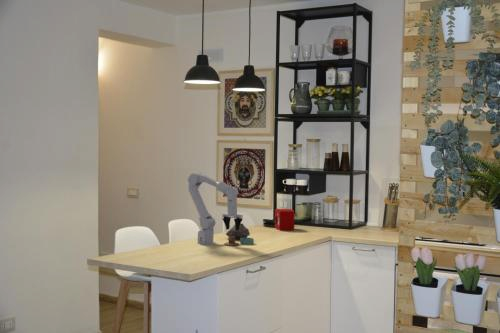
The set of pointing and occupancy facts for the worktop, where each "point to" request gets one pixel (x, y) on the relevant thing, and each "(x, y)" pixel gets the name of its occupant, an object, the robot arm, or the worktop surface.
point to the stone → (238, 232)
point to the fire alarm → (284, 219)
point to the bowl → (246, 241)
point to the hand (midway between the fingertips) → (232, 229)
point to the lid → (231, 242)
